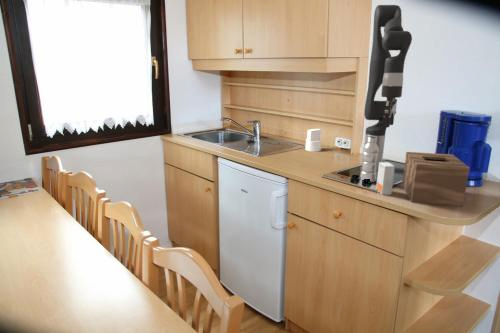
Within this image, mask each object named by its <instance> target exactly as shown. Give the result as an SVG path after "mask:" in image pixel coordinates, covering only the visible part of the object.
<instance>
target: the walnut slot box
mask: <svg viewBox="0 0 500 333" xmlns="http://www.w3.org/2000/svg"><path fill="white" fill-rule="evenodd" d="M404 160H405V162H404V166H403V168H404V169H403V174H402V175H403V176H402V183H401V186H402V188H403V190H404V192H405V194H406V195H407V197H408V199H409V201H410V202H411V203H416V204H417V203H419V204H433V205H440V206H441V205H443V206H451V207H452V206H453V207H455V206H456V207H463V206H464V202H465V195H466V191H467V185H468V180H469V175H470V168H471V167H470V166H468V165H467V164H466V163H464V162H463V161H462V160H461V159H459V158H458V157H456V156H455V155H454V154H451V153H450V154H449V153H432V152H415V151H406V152H405V159H404Z"/></svg>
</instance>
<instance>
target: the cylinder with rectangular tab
mask: <svg viewBox="0 0 500 333" xmlns="http://www.w3.org/2000/svg"><path fill="white" fill-rule="evenodd" d="M321 135H322V129H320V128H313V129H307V135H306V139H305V151H308V152H320V151H321V150H322V140H321V137H322V136H321Z"/></svg>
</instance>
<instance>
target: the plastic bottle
mask: <svg viewBox="0 0 500 333" xmlns="http://www.w3.org/2000/svg"><path fill="white" fill-rule="evenodd" d="M367 141H368V143H367V144H366V145H365V146H364V145H363V149H362V154H363V155H362V162H363V167H362V166H361V172H360V180H361V181H362V180H364V179H370V181H371V182H370V183H374V182H376V181H377V180H376V179H377V171H376V161H377V156H378V152H379V148H378V146H377V144H376V142H377V137H368V140H367Z"/></svg>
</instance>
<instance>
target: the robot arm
mask: <svg viewBox="0 0 500 333" xmlns="http://www.w3.org/2000/svg"><path fill="white" fill-rule="evenodd" d="M373 18H374V19H373V33H372V47H371V54H370V60H369V61H370V62H369V69H368V70H369V75H368V86H367V91H366V92H367V93H366V96H365V105H364V109H363V110H364V113H363V115H364V119H365V120H367V121H378V122H376V123H375V124H373V125H371V126H368V127H366V128H365V134H364V135H365V136H364V143H363V144H364V145H363V147H364V146H365V145H366V144H367V143H368V141H367V140H368V137H377V142H376V144H377V146H378V148H379V152H378V156H377V161H376V172H378V168H379V162H383V157H384V149H385V140H386V131H387V128H390V126H393V125H394V121H395V116H396V114H397V106H398V105H397V102H398V99H399V98H401V97H402V95H403V94H402V93H403V86H404V85H403V84H404V68H405V61H406V56H407V54H408V52H409V50H410V46H411V44H412V41H413V36H412V33H411V32H410V31H408V30H404V28H403V25H402V20H403V19H402V9H401V7H400V5H398V4H397V5H395V4H378V5H377V6H376V7H375V9H374V14H373ZM382 28H383V33H382ZM382 34H383V35H382ZM391 51H399V53H398V54H397V55H395V56H392V54H391ZM380 87H381V98H386V100H375V98H376V95H377V92H378V91H379V89H380ZM362 167H363V161H362V164H361V168H362Z"/></svg>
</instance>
